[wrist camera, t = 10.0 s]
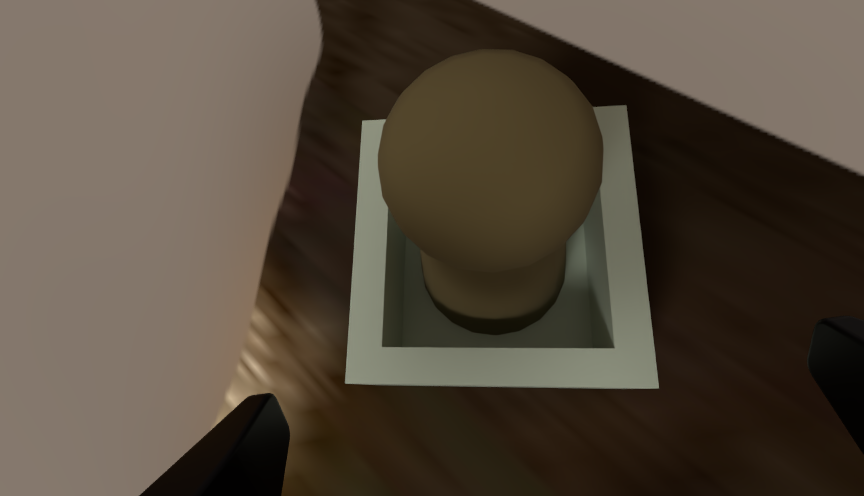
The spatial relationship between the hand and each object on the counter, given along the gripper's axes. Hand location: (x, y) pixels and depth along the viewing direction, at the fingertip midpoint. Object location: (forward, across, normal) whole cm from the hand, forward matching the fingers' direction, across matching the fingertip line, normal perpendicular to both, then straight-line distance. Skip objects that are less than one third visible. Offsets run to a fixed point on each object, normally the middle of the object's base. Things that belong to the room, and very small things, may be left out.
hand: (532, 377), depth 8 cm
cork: (+12, 0, +4) cm, 12 cm away
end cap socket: (+12, 0, +5) cm, 13 cm away
